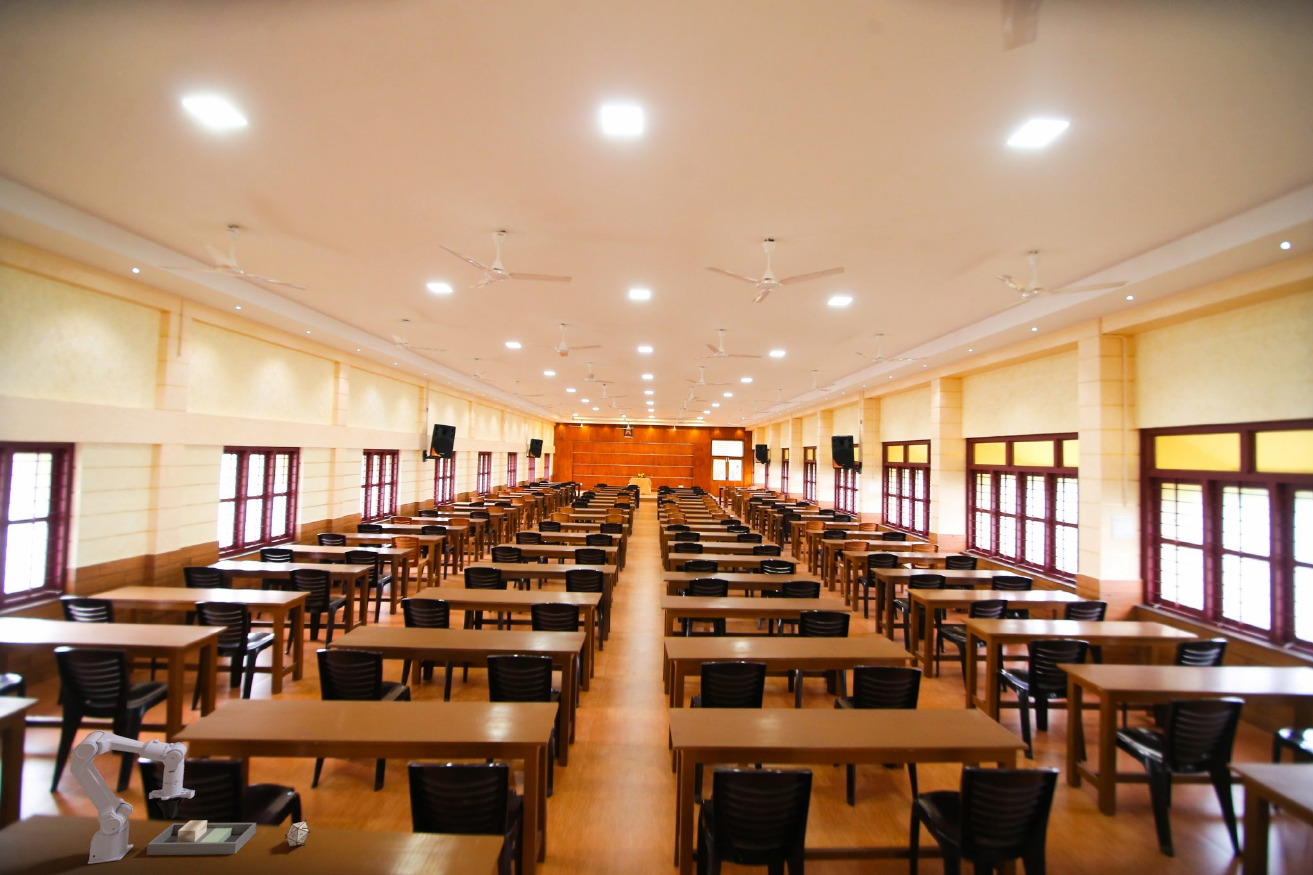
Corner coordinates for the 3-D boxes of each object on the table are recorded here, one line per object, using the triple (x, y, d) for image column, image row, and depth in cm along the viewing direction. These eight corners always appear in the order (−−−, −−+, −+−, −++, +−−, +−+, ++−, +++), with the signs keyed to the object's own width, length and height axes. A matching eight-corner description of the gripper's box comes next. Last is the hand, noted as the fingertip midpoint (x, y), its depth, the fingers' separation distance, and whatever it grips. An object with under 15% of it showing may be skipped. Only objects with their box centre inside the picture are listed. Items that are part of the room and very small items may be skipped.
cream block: (177, 841, 209) (178, 830, 209) (189, 831, 215) (190, 820, 215) (194, 841, 209) (195, 830, 209) (206, 831, 215) (207, 820, 215)
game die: (298, 857, 212) (299, 844, 207) (278, 847, 212) (277, 835, 207) (316, 832, 220) (317, 819, 215) (296, 822, 220) (297, 810, 215)
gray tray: (146, 854, 205) (147, 844, 205) (172, 833, 217) (173, 823, 217) (234, 854, 207) (235, 843, 207) (255, 832, 219) (256, 822, 219)
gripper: (143, 785, 208) (140, 824, 207) (185, 785, 209) (182, 823, 208) (158, 775, 215) (155, 812, 214) (199, 775, 216) (196, 812, 215)
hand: (170, 817), depth 212 cm, fingers closed
